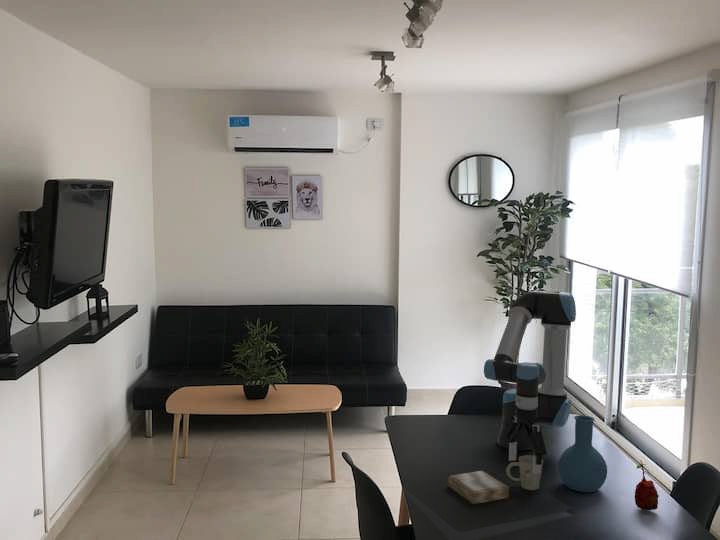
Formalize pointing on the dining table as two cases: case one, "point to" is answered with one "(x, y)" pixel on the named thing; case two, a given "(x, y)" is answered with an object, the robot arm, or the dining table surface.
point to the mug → (526, 473)
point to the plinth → (478, 487)
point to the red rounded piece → (646, 494)
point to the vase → (582, 460)
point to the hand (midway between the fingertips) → (524, 466)
